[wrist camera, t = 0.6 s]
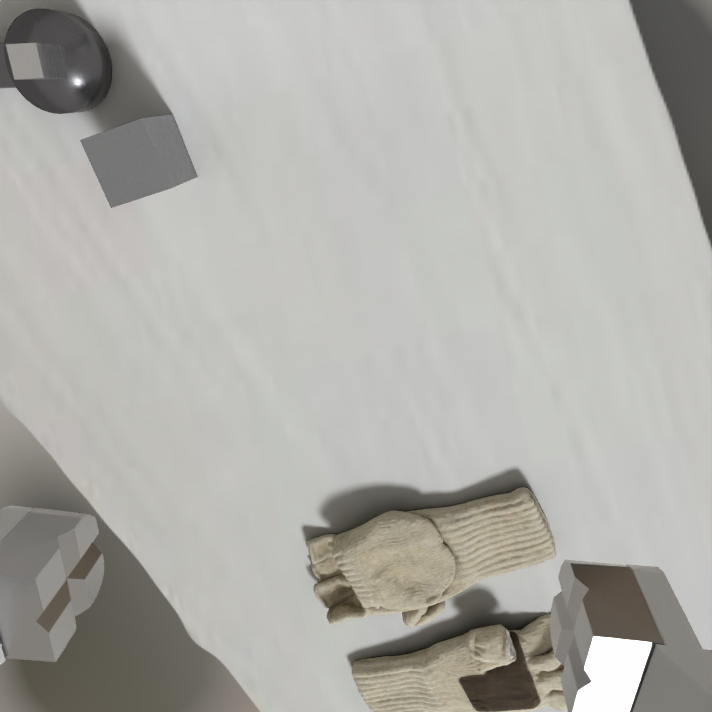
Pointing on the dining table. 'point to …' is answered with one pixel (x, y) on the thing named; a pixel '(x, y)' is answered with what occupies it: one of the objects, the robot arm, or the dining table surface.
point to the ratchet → (55, 61)
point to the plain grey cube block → (139, 159)
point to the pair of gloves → (427, 600)
